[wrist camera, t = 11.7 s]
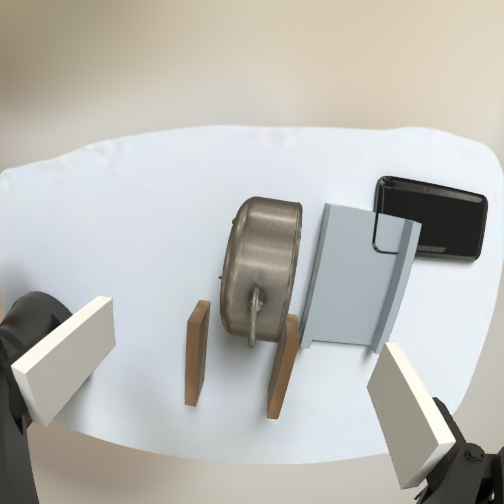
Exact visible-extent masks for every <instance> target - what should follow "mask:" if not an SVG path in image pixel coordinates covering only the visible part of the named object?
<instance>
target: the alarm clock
mask: <svg viewBox="0 0 504 504" xmlns="http://www.w3.org/2000/svg"><path fill="white" fill-rule="evenodd" d="M232 224H233V226H232V229H231V233H230V237H229V241H228V245H227V250H226V255H225V260H224V266H223V274H222V277H221V276H219V279H222V282H221V292H220V314H221V320H222V323H223V326H224V328H225V329H226V330H227V331H228V332H229V333H230V334H232V335H235V336H240V337H246V338H249V344H248V346H249V347H250V348H253V347H254V345H255V339H257V340H263V341H269V342H274V343H277V342H279V341H280V339H281V336H282V333H283V330H284V327H285V323H286V319H287V315H288V310H289V305H290V301H291V296H292V290H293V285H294V278H295V272H296V266H297V259H298V253H299V246H300V239H301V227H302V205H301V204H300V203H299V202H298V203H295V202H289V201H283V200H276V199H270V198H263V197H252V198H249V199H248V200H246V201H245V202H244V203H243V204H242V206H241V207H240V209H239V211H238V213H237V215H236V217H235V218H234V219H233V221H232Z"/></svg>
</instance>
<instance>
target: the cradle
mask: <svg viewBox="0 0 504 504" xmlns="http://www.w3.org/2000/svg"><path fill="white" fill-rule="evenodd" d="M375 216H376V213H375V212H372V211H367V210H362V209H357V208H352V207H347V206H342V205H336V204H331V203H326V206H325V212H324V217H323V223H322V228H321V234H320V239H319V244H318V249H317V254H316V259H315V264H314V269H313V274H312V279H311V283H310V288H309V293H308V297H307V302H306V306H305V310H304V315H303V319H302V323H301V327H300V332H299V335H300V341H299V342H300V347H301V348H310V346H311V342H312V340H320V341H330V342H340V343H351V344H364V345H371V347H372V349H373V351H374V353H375V354H380V353H381V351H382V348H383V345H384V343H385V342H387V343H388V340H389V337H390V335H391V332H392V329H393V326H394V323H395V320H396V317H397V314H398V311H399V308H400V305H401V302H402V299H403V296H404V292H405V289H406V286H407V282H408V279H409V275H410V271H411V268H412V264H413V260H414V256H415V252H416V248H417V244H418V239H419V235H420V230H421V225H422V224H420V223H418V222H415V221H412V220H407V219H403V218H398V217H394V216H389V215H385V214H380V213H379V216H378V224H377V232H376V239H375V243H376V246H377V248H378V249H379V250H381V251H387V252H398V254H386V253H379V252H377V251H376V250H375V249H374V248H373V245H372V239H373V232H374V224H375Z"/></svg>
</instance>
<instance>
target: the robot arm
mask: <svg viewBox="0 0 504 504" xmlns="http://www.w3.org/2000/svg"><path fill="white" fill-rule="evenodd" d="M115 346H116V345H115V334H114V321H113V305H112V298H109V297H105V296H101V295H99V296H97V297H96V298H95V299H93V300H92V301H91V302H90V303H88V304H87V305H86V306H84V307H83V308H82V309H80V310H79V311H78V312H76V313H75V314H74V315H72V314H71V312H70V311H69V310H68V309H67V308H66V307H65V306H64V305H63V304H62V303H60V302H59V301H58V300H56V299H55V298H53V297H52V296H50V295H48V294H46V293H43V292H30V293H28V294H26V295H24V296H23V297H21V298H19V299H18V300H17V301H16V302H15V303H14V305H13V306H12V308H11V310H10V311H9V313H8V314H7V315H6V317H5V318H4V319H3V321H2V322H1V324H0V504H39V500H38V496H37V492H36V488H35V483H34V479H33V473H32V468H31V461H30V455H29V448H28V440H27V431H26V429H27V428H28V427H29V425H30V424H31V423H32V421H35V422H37V423H38V424H40V425H42V426H43V427H45V428H47V427H48V426H49V424H50V423H51V422H52V420H53V419H54V418H55V417H56V416H57V414H58V413H59V412H60V411H61V409H62V408H63V407H64V406H65V405H66V403H67V402H68V401H69V400H70V398H71V397H72V396H73V395H74V394H75V392H76V391H77V390H78V389H79V388H80V386H81V385H82V384H83V383H84V382H85V380H86V379H87V378H88V377H89V376H90V375H91V373H92V372H93V371H94V370H95V369H96V368H97V366H98V365H99V364H100V363H101V362H102V361H103V359H104V358H105V357H106V356H107V355H108V354H109V352H110V351H111V350H112V349H113V348H114V347H115ZM367 389H368V392H369V395H370V397H371V400H372V403H373V406H374V408H375V411H376V414H377V417H378V420H379V423H380V426H381V429H382V431H383V434H384V437H385V440H386V443H387V446H388V449H389V453H390V456H391V459H392V462H393V465H394V468H395V471H396V475H397V478H398V481H399V485H400V488H401V489H408V488H413V487H418V486H419V485H420V483H421V482H422V481H423V480H424V479H425V478H426V480H427V483H428V485H427V486H426V487H425V488H424V489H423V490H422V491H421V492H420V493H419V494H418V495H417V496H416V497H415V498H414V499H415V500H417V499H418V498H419V497H420V498H419V500H418V501H417V503H416V504H504V447H502V449H501V450H500V451H499V452H498V454H485V452H484V450H483V449H482V448H481V447H480V446H478V445H476V444H473V443H466V440H465V439H464V437H463V435H462V433H461V432H460V430H459V428H458V426H457V425H456V423H455V421H453V418H452V416H451V414H449V411H448V409H447V408H446V406H445V404H444V403H442V402H441V401H440V400H439V399H438V398H437V397H431V396H430V394H429V392H428V391H427V389H426V387H425V385H424V384H423V382H422V381H421V379H420V377H419V376H418V374H417V372H416V371H415V369H414V367H413V366H412V364H411V363H410V361H409V359H408V358H407V356H406V355H405V353H404V352H403V350H402V348H401V347H400V345H399V344H398V343H387V342H385V343H384V345H383V348H382V351H381V353H380V356H379V358H378V361H377V363H376V366H375V368H374V371H373V373H372V375H371V378H370V380H369V382H368V385H367ZM493 493H494V499H493V500H492V494H493Z"/></svg>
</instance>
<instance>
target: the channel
mask: <svg viewBox="0 0 504 504" xmlns="http://www.w3.org/2000/svg"><path fill="white" fill-rule="evenodd" d="M209 313H210V302H209V301H204V300H199V302H198V304H197V305H196V307H195V309H194V311H193V312H192V314H191V316H190V318H189V320H188V323H187V343H186V370H185V405H190V406H194V407H195V406H196V403H197V400H198V397H199V394H200V391H201V388H202V384H203V381H204V372H205V359H206V347H207V335H208V324H209ZM299 341H300V335H299V329H298V322H297V316H296V315H293V314H288V315H287V319H286V323H285V327H284V330H283V333H282V336H281V339H280V341H279V345H278V350H277V354H276V359H275V363H274V368H273V372H272V376H271V380H270V385H269V389H268V407H267V418H269V419H278V417H279V414H280V410H281V407H282V404H283V400H284V397H285V393H286V390H287V386H288V383H289V379H290V375H291V372H292V368H293V364H294V361H295V357H296V353H297V349H298V345H299Z"/></svg>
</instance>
